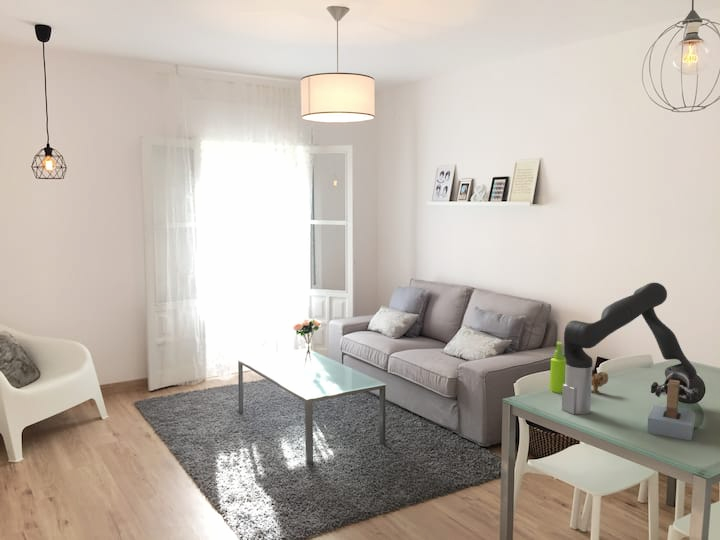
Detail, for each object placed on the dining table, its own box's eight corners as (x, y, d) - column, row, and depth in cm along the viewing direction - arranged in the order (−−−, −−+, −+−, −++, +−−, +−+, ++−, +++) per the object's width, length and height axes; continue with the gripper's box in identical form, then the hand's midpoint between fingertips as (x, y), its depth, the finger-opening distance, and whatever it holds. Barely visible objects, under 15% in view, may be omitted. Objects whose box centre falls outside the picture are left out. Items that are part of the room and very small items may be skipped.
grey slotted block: (691, 440, 195) (692, 425, 195) (647, 432, 202) (648, 418, 201) (694, 426, 208) (695, 412, 207) (652, 419, 215) (653, 405, 214)
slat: (675, 431, 202) (678, 384, 200) (665, 429, 204) (667, 383, 202) (676, 426, 206) (679, 380, 204) (667, 424, 208) (669, 379, 206)
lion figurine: (609, 393, 244) (610, 371, 243) (604, 396, 240) (605, 374, 239) (574, 385, 254) (574, 364, 253) (568, 388, 250) (569, 367, 249)
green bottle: (564, 388, 250) (566, 341, 247) (564, 393, 243) (566, 344, 241) (550, 387, 251) (551, 340, 249) (549, 392, 245) (551, 343, 243)
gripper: (655, 371, 219) (649, 382, 205) (700, 377, 211) (697, 389, 198) (654, 391, 220) (648, 403, 206) (698, 397, 212) (696, 411, 199)
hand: (672, 396), depth 202 cm, fingers open, 8 cm apart
